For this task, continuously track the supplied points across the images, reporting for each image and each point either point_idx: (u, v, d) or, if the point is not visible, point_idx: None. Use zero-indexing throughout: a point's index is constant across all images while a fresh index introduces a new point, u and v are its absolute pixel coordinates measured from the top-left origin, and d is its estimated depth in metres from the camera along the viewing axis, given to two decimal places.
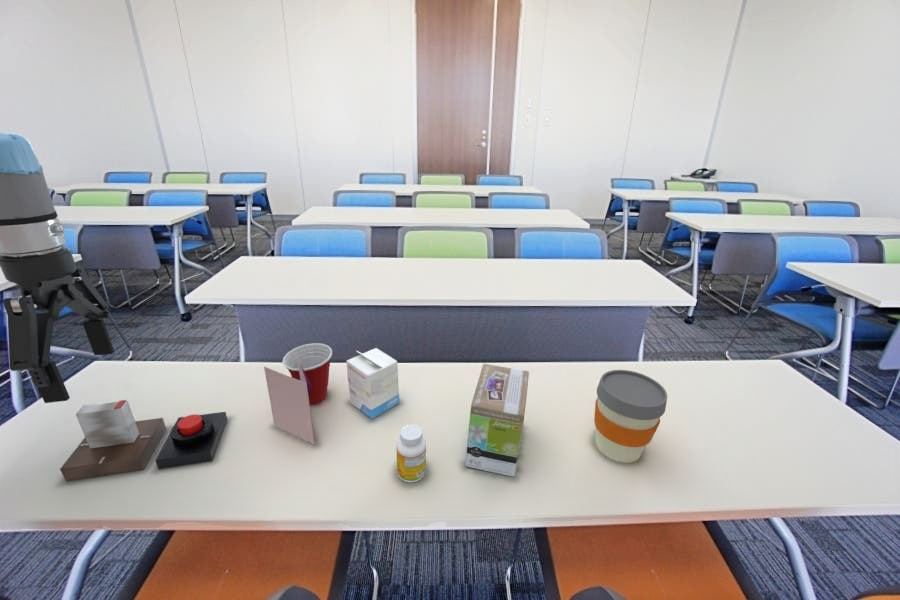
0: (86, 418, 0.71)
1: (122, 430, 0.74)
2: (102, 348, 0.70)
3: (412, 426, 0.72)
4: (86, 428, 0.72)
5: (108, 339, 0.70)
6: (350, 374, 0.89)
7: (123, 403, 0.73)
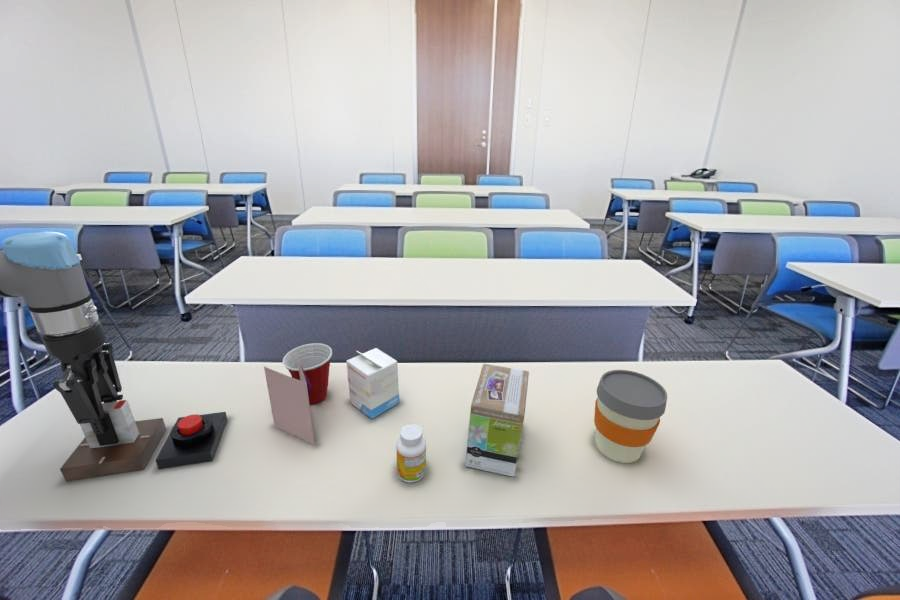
0: None
1: (122, 430, 0.74)
2: None
3: (412, 426, 0.72)
4: (86, 428, 0.72)
5: None
6: (350, 374, 0.89)
7: (123, 403, 0.73)
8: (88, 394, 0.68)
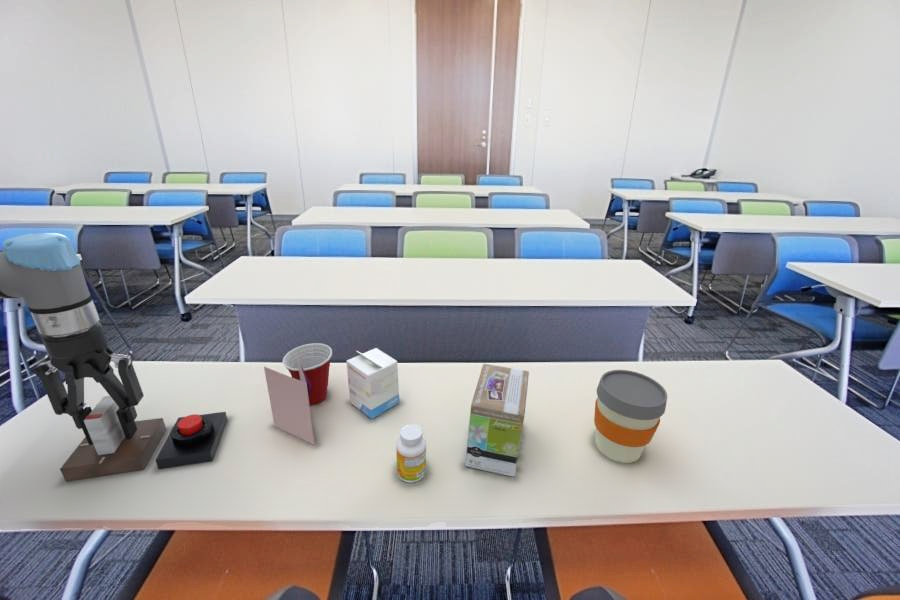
0: None
1: None
2: None
3: (412, 426, 0.72)
4: None
5: (123, 428, 0.73)
6: (350, 374, 0.89)
7: (93, 418, 0.69)
8: None
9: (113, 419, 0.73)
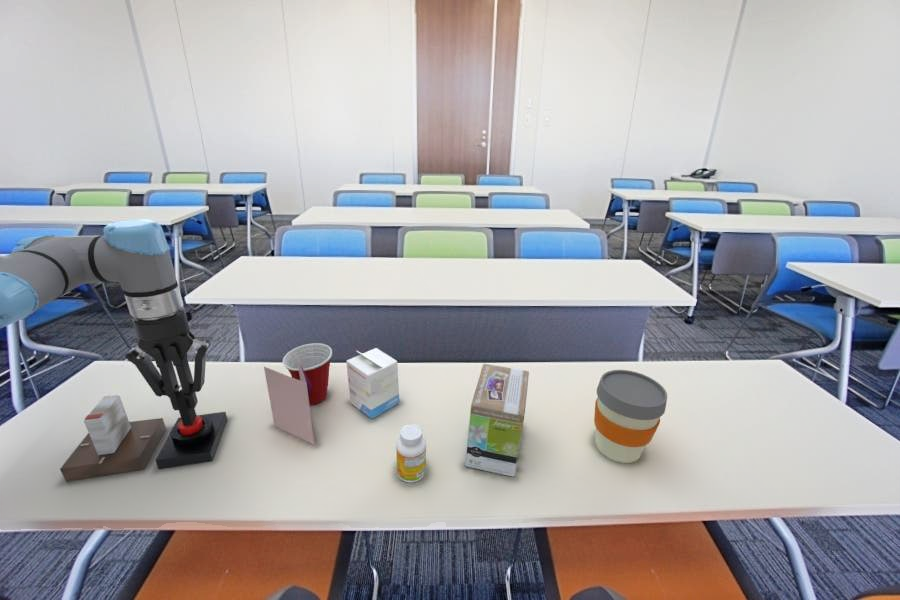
0: None
1: None
2: None
3: (412, 426, 0.72)
4: None
5: (185, 413, 0.75)
6: (350, 374, 0.89)
7: (93, 418, 0.69)
8: None
9: (113, 419, 0.73)
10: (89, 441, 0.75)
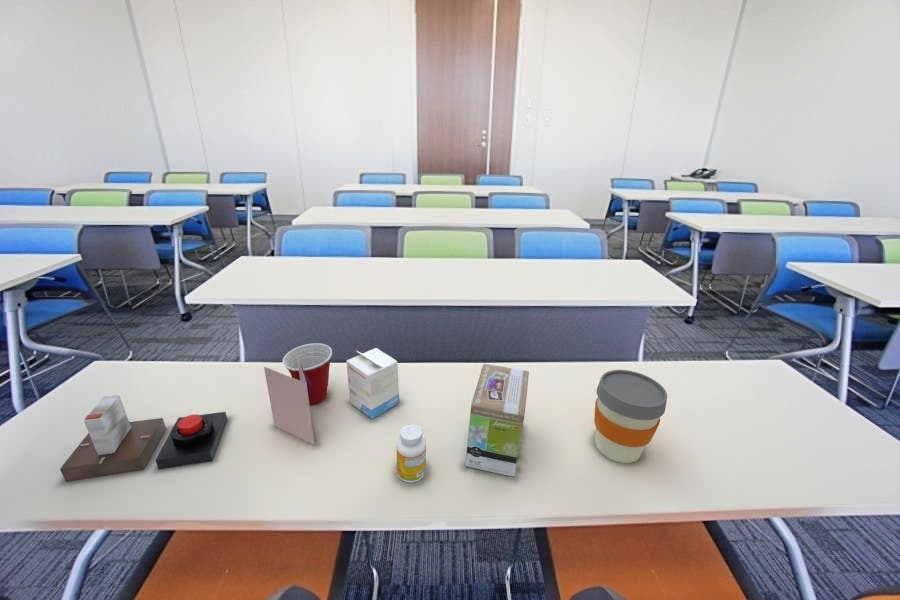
0: None
1: None
2: None
3: (412, 426, 0.72)
4: None
5: None
6: (350, 374, 0.89)
7: (93, 418, 0.69)
8: None
9: (113, 419, 0.73)
10: (89, 441, 0.75)
